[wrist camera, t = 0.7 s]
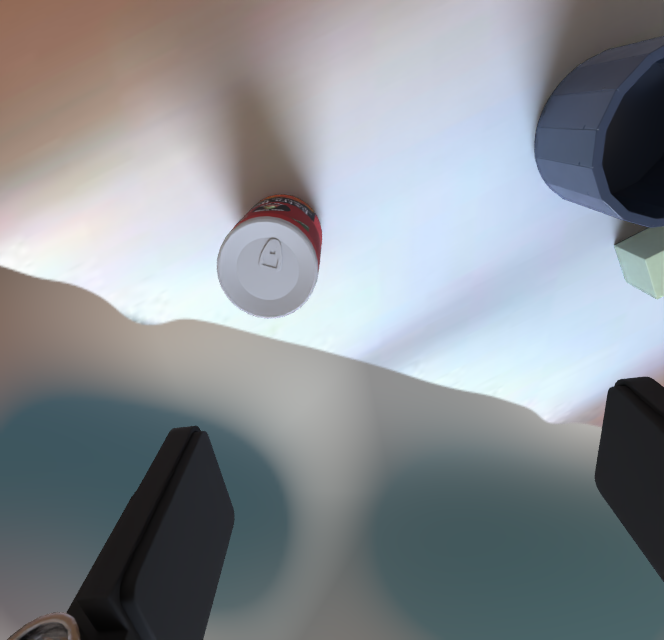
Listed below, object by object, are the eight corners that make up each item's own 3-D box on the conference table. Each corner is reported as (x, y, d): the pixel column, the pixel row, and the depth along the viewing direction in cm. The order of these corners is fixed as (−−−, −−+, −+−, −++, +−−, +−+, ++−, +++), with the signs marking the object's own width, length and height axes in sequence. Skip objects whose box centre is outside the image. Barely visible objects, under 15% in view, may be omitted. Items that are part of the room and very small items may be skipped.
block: (613, 245, 41) (644, 259, 37) (661, 220, 40) (699, 232, 36) (625, 282, 43) (656, 300, 39) (672, 259, 42) (709, 275, 38)
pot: (539, 61, 34) (607, 43, 26) (696, 35, 33) (821, 7, 25) (530, 211, 40) (583, 237, 31) (665, 192, 39) (758, 213, 30)
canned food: (321, 192, 39) (317, 217, 29) (323, 272, 43) (319, 319, 33) (240, 192, 39) (208, 218, 29) (248, 272, 43) (222, 320, 33)
